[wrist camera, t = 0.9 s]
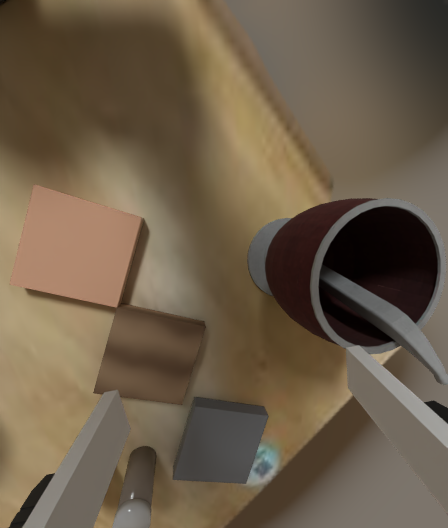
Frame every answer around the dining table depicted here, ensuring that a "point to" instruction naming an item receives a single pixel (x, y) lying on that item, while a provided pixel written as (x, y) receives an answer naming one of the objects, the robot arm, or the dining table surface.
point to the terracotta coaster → (75, 248)
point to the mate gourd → (356, 274)
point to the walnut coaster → (149, 355)
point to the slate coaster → (219, 441)
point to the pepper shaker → (137, 490)
